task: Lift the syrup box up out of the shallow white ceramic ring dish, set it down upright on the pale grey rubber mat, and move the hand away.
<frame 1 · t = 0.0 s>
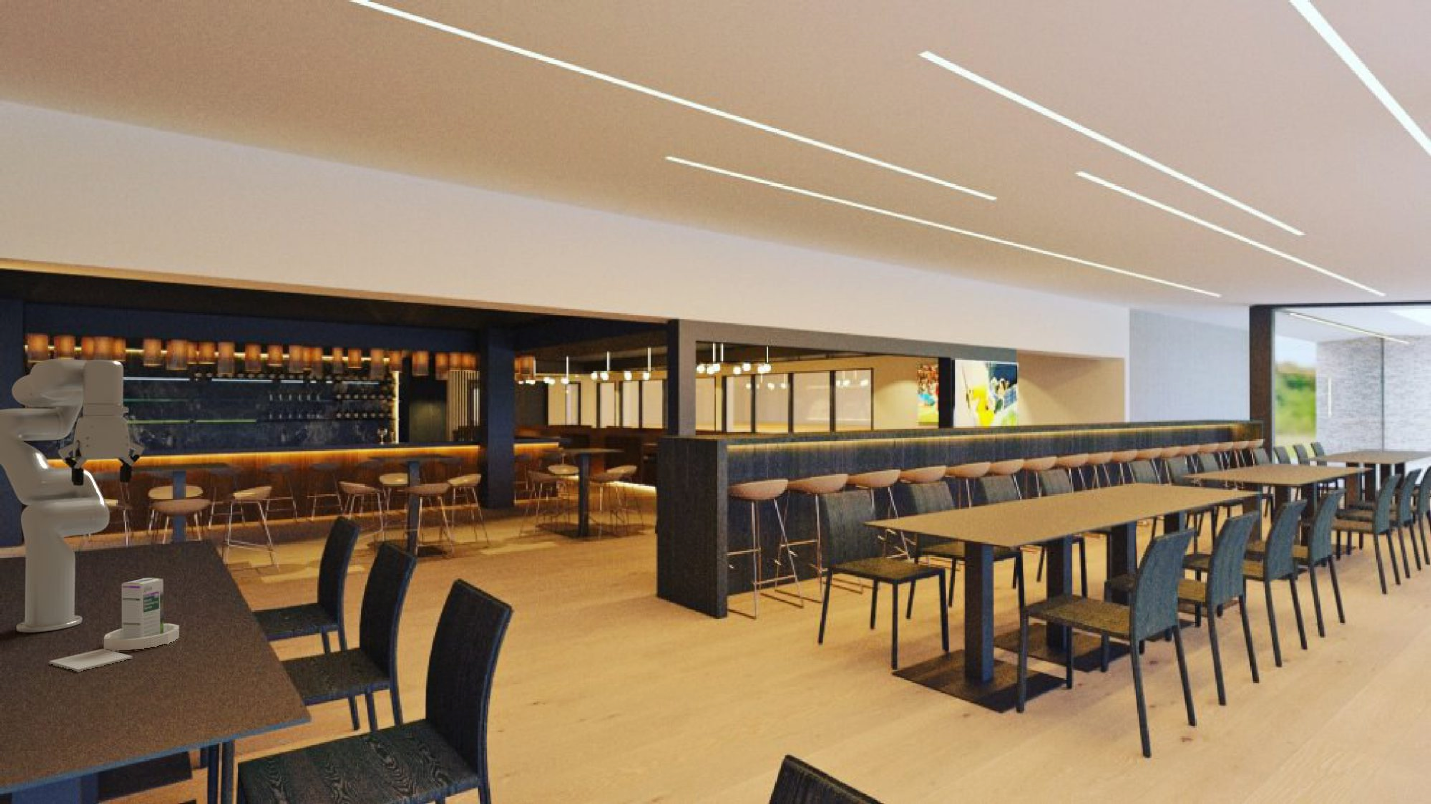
hand: (102, 483, 188), 37 cm above the table, tool pointing down, fingers open, 9 cm apart
mat: (91, 661, 170), on the table
ring dish: (142, 642, 184), on the table
syrup box: (142, 643, 184), resting in ring dish
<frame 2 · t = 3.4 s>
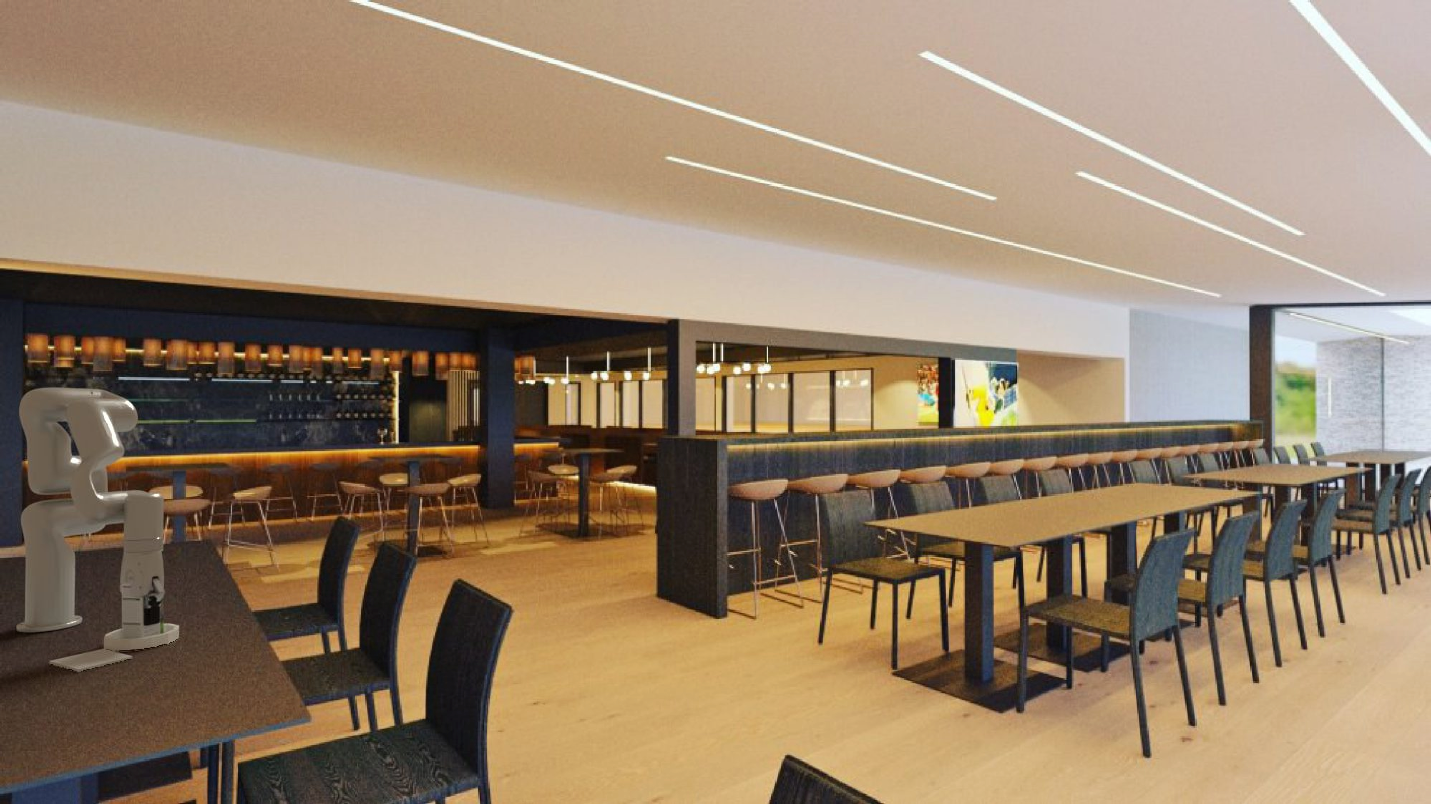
hand: (142, 621, 184), 5 cm above the table, tool pointing down, fingers closed on syrup box, 6 cm apart
syrup box: (142, 643, 184), resting in ring dish, touching gripper
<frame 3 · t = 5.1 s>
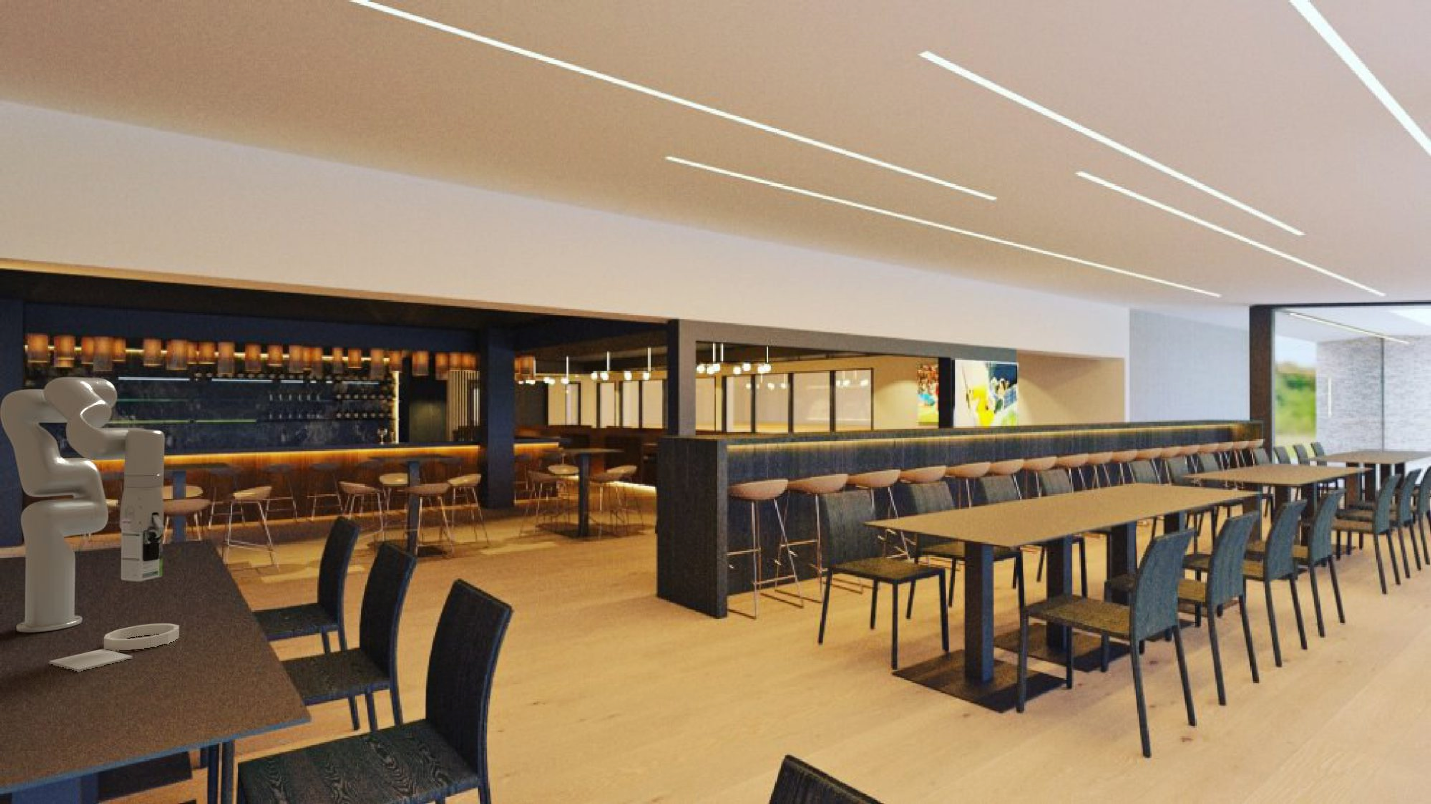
hand: (141, 558, 185), 20 cm above the table, tool pointing down, fingers closed on syrup box, 6 cm apart
syrup box: (141, 579, 185), point 15 cm above the table, touching gripper
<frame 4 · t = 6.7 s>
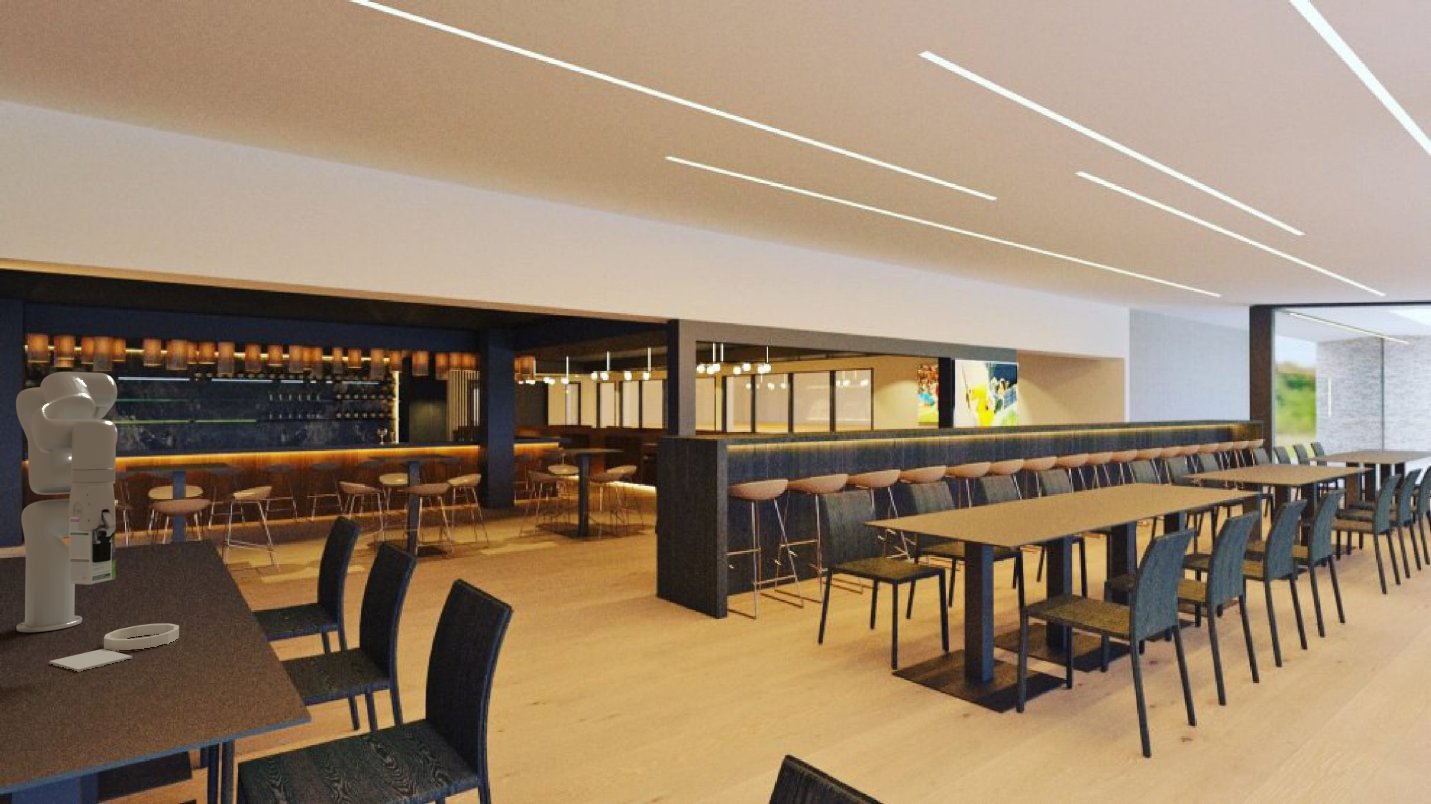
hand: (92, 559, 170), 22 cm above the table, tool pointing down, fingers closed on syrup box, 6 cm apart
syrup box: (92, 582, 170), point 17 cm above the table, touching gripper
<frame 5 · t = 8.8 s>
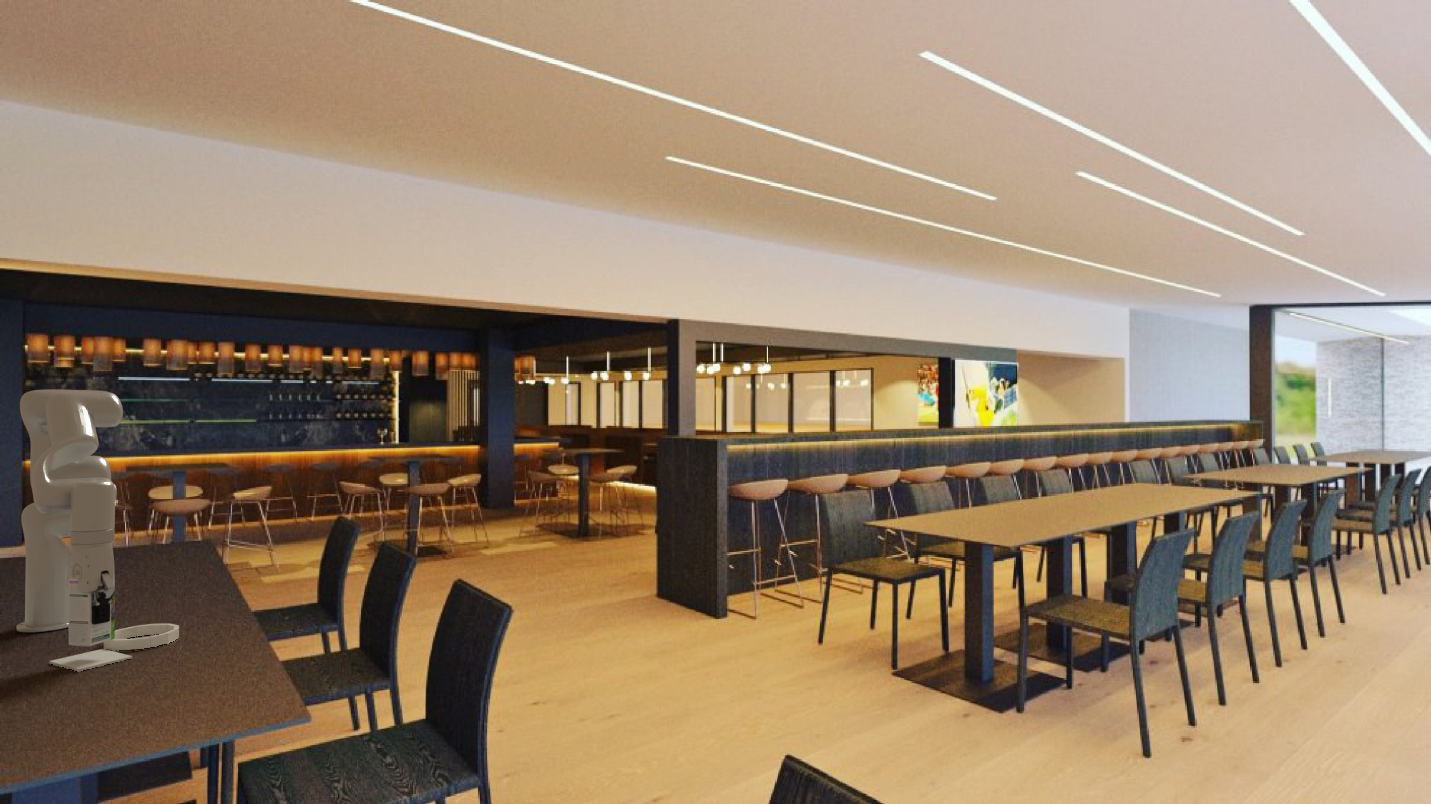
hand: (91, 620, 170), 9 cm above the table, tool pointing down, fingers closed on syrup box, 6 cm apart
syrup box: (91, 643, 170), point 4 cm above the table, touching gripper
when the fingers open (7 cm above the table, at t = 10.3 s): syrup box drops 1 cm, resting on mat.
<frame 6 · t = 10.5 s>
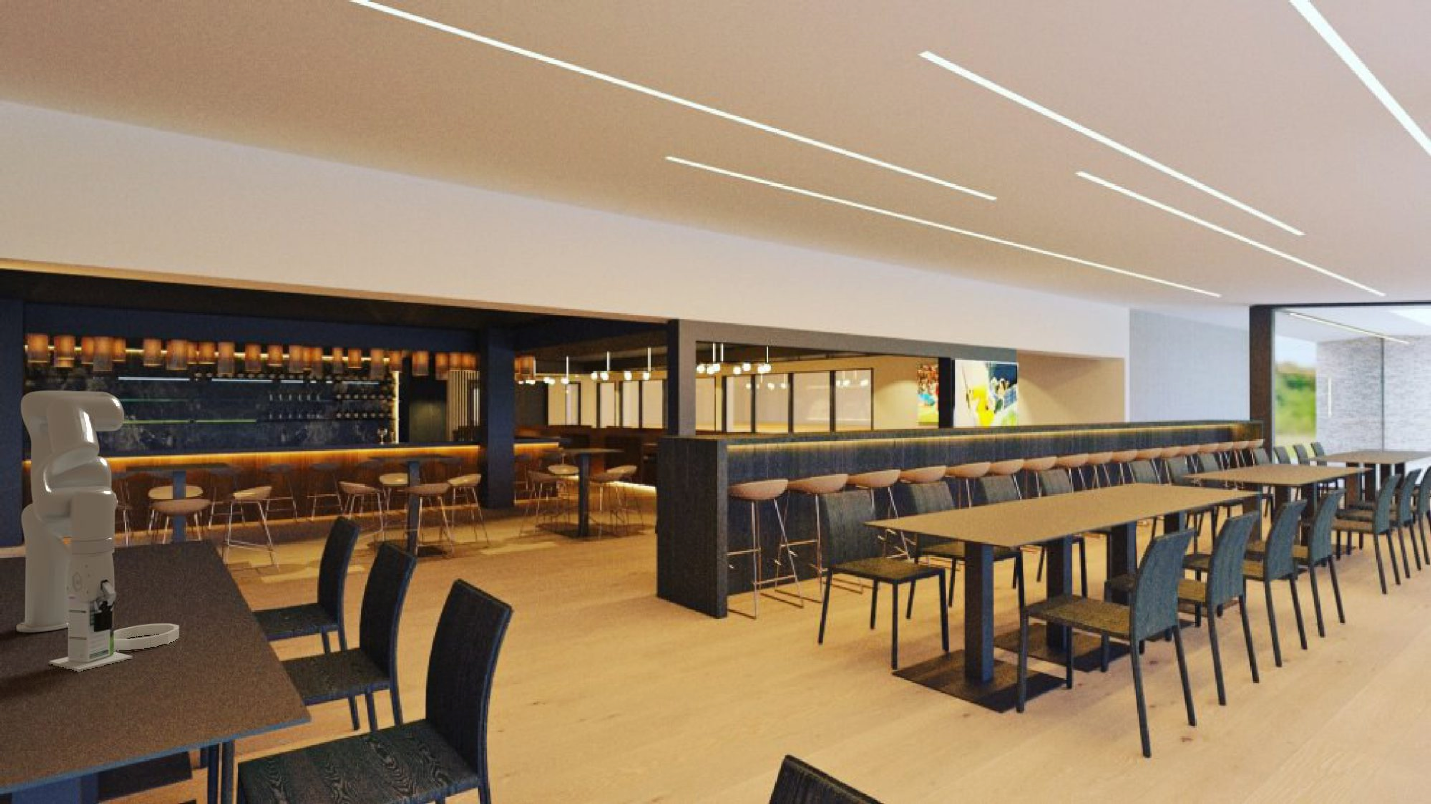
hand: (91, 627, 170), 7 cm above the table, tool pointing down, fingers open, 8 cm apart
syrup box: (90, 659, 170), resting on mat
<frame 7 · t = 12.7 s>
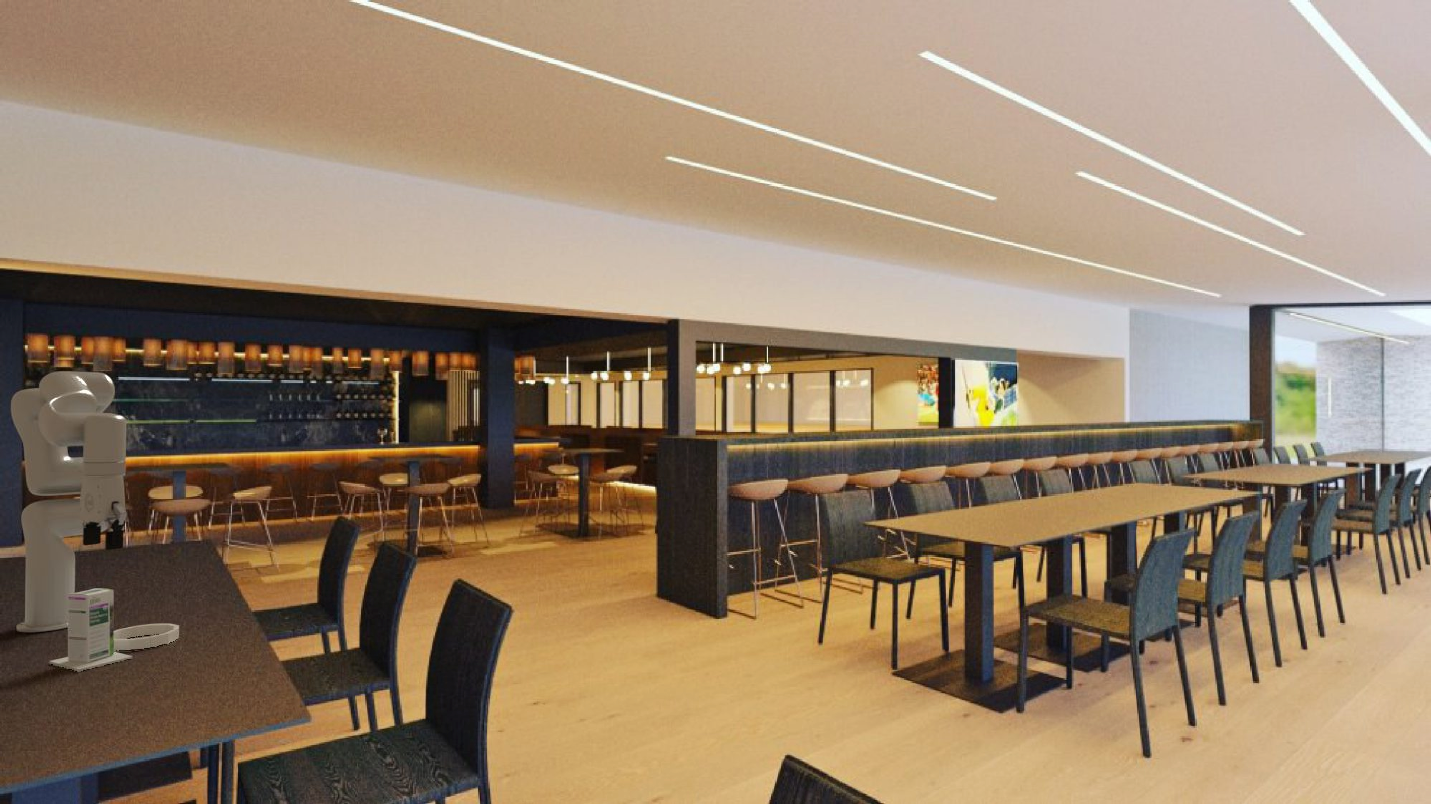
hand: (102, 546, 176), 24 cm above the table, tool pointing down, fingers open, 9 cm apart
nothing on the table moved.
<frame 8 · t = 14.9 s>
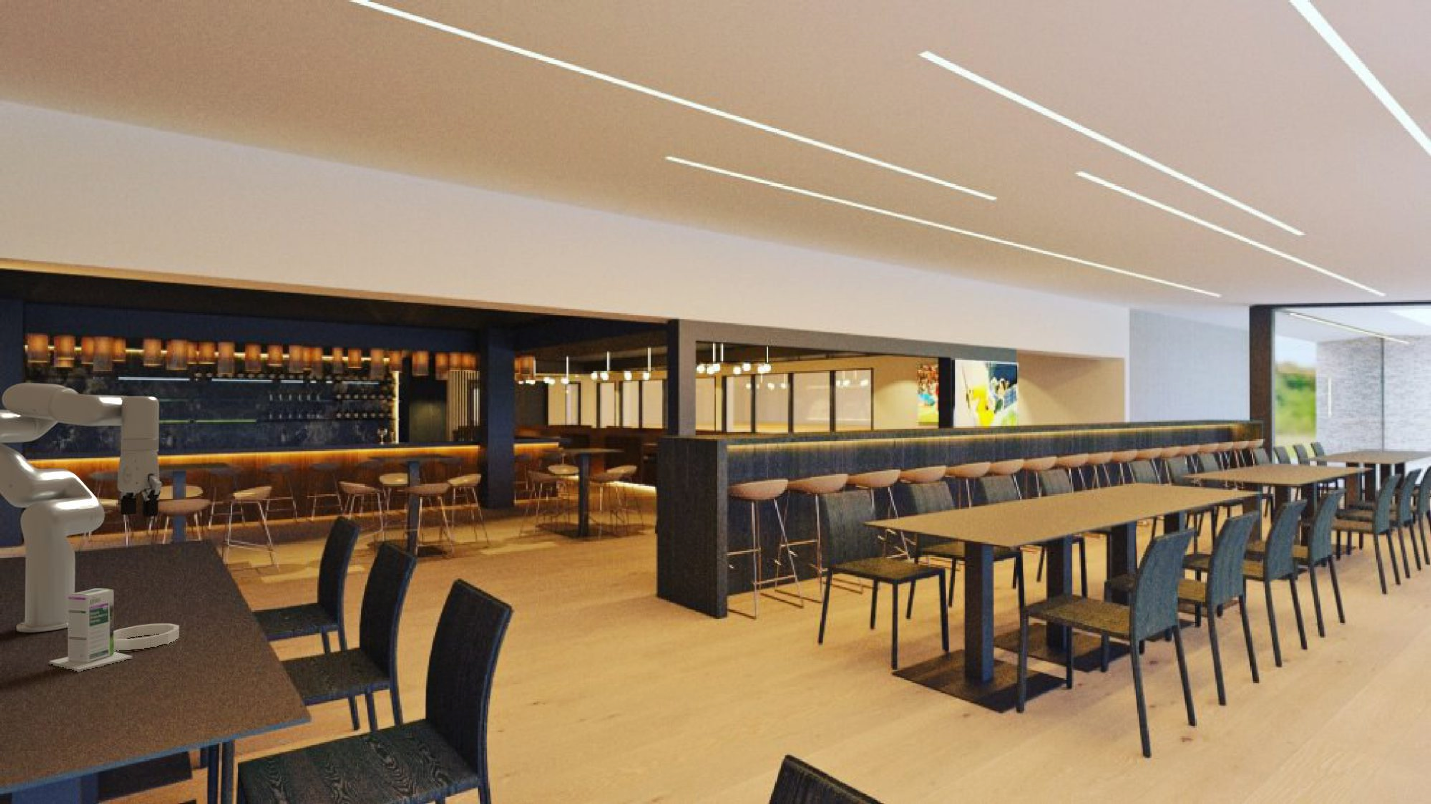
hand: (139, 515, 195), 28 cm above the table, tool pointing down, fingers open, 9 cm apart
nothing on the table moved.
at the end: syrup box inside the target area on the mat (0.4 cm from its centre), point 0.4 cm above the mat's base; syrup box tilted 0°; the gripper is holding nothing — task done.
